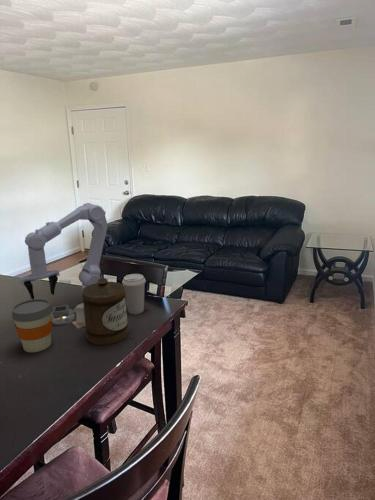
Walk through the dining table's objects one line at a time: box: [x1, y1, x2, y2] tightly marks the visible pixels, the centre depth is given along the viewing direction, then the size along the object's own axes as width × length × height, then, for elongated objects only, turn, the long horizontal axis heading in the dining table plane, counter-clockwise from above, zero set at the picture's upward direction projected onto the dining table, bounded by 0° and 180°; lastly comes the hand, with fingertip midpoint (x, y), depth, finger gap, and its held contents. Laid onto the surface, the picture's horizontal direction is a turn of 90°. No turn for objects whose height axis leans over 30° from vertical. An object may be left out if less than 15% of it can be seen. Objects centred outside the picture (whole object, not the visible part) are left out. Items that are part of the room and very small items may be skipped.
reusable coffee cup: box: [11, 298, 53, 353], centre depth 126 cm, size 13×13×15 cm
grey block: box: [73, 303, 85, 325], centre depth 142 cm, size 5×3×7 cm, turn 84°
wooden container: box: [82, 277, 129, 346], centre depth 132 cm, size 15×15×22 cm
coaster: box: [71, 320, 86, 330], centre depth 143 cm, size 6×6×1 cm
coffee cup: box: [121, 273, 147, 315], centre depth 151 cm, size 10×10×15 cm
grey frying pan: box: [51, 308, 76, 326], centre depth 145 cm, size 18×10×2 cm, turn 127°
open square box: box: [52, 304, 70, 319], centre depth 145 cm, size 6×8×2 cm
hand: (42, 296), depth 145 cm, fingers open, 7 cm apart
